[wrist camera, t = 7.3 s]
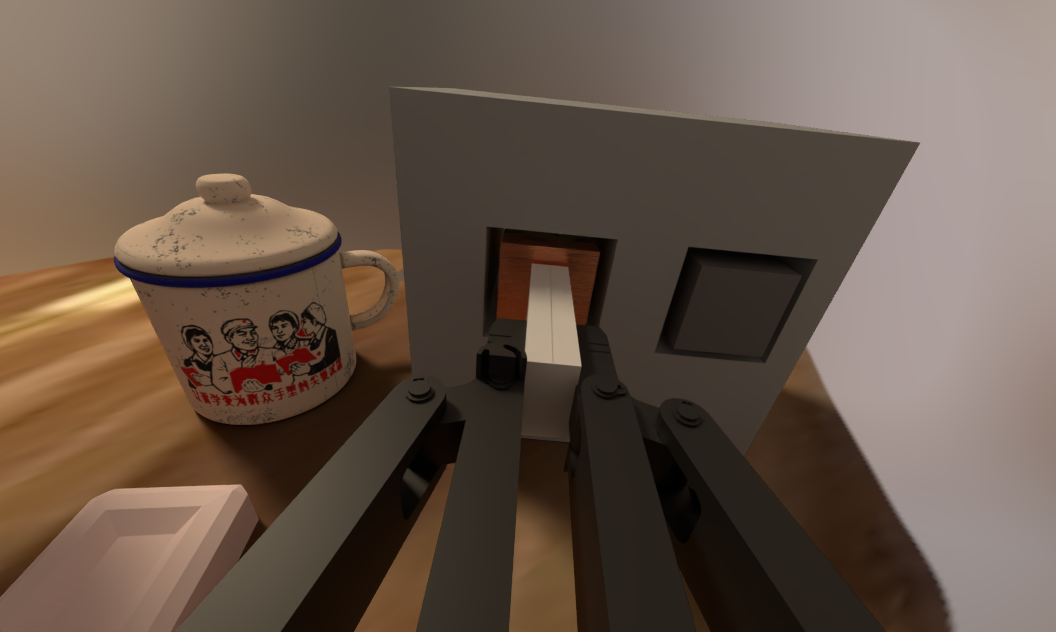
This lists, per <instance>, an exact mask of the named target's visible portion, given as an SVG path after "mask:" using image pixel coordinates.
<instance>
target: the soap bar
mask: <svg viewBox="0 0 1056 632" xmlns="http://www.w3.org/2000/svg"><path fill="white" fill-rule="evenodd" d="M258 520H259V519H258V516H257V514H256V512H255V510H254V507H253V505H252V503H251V500H250V498H249V496H248V494H247V492H246V491H245V489H244V488H243V486H242V485H214V486H186V487H157V488H129V489H113V490H110V491H108V492H106V493H103V494H101V495H99V496H97V497H95V498H94V499H92V500H90V501H89V502H88V503H87V504H86V506H85V507H84V508H83V509H82V510H81V511H80V512H79V513H78V514H77V515H76V516H75V517H74V518H73V520H72V521H71V522H70V523H69V524H68V525H67V526H66V527H65V528H64V529H63V530H62V531H61V532H60V534H59V535H58V536H57V537H56V538H55V539H54V540H53V541H52V542H51V543H50V544H49V545H48V546H47V547H46V549H45V550H44V551H43V552H42V553H41V554H40V555H39V556H38V557H37V558H36V559H35V560H34V561H33V563H32V564H31V565H30V566H29V567H28V568H27V569H26V570H25V571H24V572H23V573H22V574H21V575H20V576H19V578H18V579H17V580H16V581H15V582H14V583H13V584H12V585H11V586H10V587H9V588H8V589H7V590H6V592H5V593H4V594H3V595H2V596H1V597H0V632H175V631H176V630H177V629H178V628H179V627H180V626H181V624H182V623H183V622H184V621H185V620H186V619H187V618H188V617H189V616H190V614H191V613H192V612H193V611H194V610H195V609H196V608H197V607H198V606H199V604H200V603H201V602H202V601H203V600H204V599H205V598H206V597H207V596H208V594H209V593H210V592H211V591H212V590H213V589H214V588H215V587H216V586H217V584H218V583H219V582H220V581H221V580H222V579H223V578H224V577H225V576H226V574H227V573H228V572H229V571H230V570H231V569H232V568H233V567H234V566H235V564H236V563H237V562H238V560H239V558H240V556H241V554H242V552H243V550H244V548H245V546H246V544H247V542H248V540H249V538H250V536H251V534H252V532H253V530H254V528H255V526H256V524H257V522H258Z"/></svg>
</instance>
